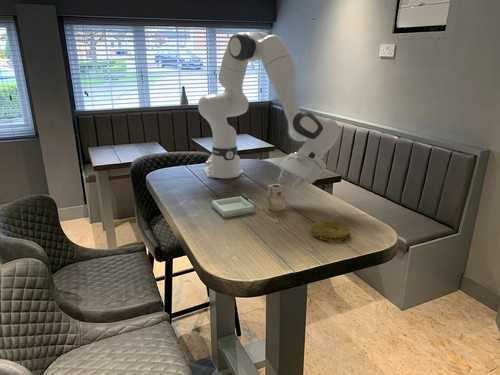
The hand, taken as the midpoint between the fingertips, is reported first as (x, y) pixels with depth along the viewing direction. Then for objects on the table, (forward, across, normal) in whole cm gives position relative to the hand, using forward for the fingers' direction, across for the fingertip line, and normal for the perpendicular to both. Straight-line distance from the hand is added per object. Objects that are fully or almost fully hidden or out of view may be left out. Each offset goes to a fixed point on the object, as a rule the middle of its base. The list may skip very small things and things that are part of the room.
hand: (285, 184), depth 141 cm
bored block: (+9, 0, +3) cm, 10 cm away
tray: (+20, -6, -7) cm, 22 cm away
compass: (+6, +27, +7) cm, 29 cm away
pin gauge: (+13, -12, -1) cm, 18 cm away
